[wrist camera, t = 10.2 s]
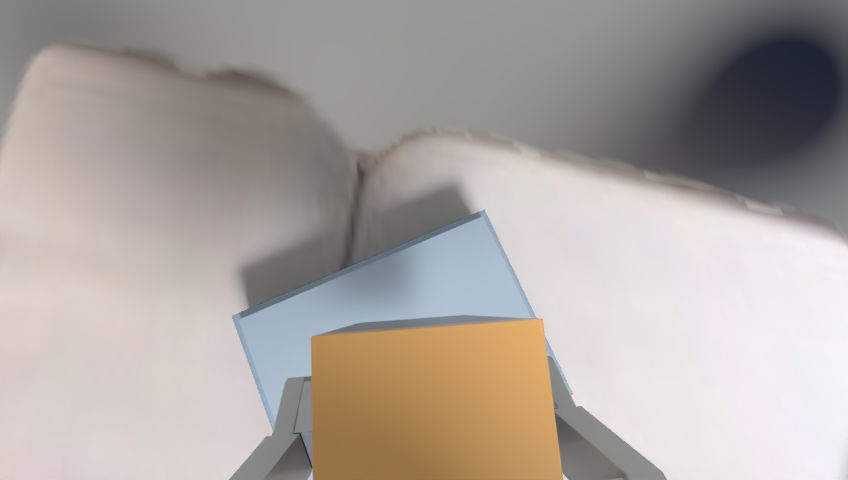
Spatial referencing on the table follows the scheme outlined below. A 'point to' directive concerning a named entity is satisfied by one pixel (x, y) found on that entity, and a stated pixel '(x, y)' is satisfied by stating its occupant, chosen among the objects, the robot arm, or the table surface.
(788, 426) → the table surface
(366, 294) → the stand
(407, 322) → the block
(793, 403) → the table surface
